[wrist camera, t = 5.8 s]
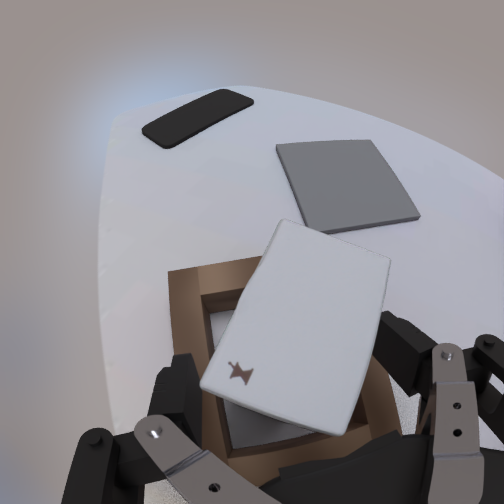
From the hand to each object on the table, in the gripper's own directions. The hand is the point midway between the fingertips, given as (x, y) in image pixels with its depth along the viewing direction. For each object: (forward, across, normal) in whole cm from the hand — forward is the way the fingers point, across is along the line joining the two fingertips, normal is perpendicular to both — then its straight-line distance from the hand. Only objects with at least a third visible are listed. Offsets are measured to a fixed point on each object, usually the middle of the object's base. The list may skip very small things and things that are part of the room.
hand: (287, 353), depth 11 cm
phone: (+28, +3, -17) cm, 33 cm away
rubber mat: (+16, -11, -6) cm, 21 cm away
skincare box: (+5, 0, +5) cm, 8 cm away
